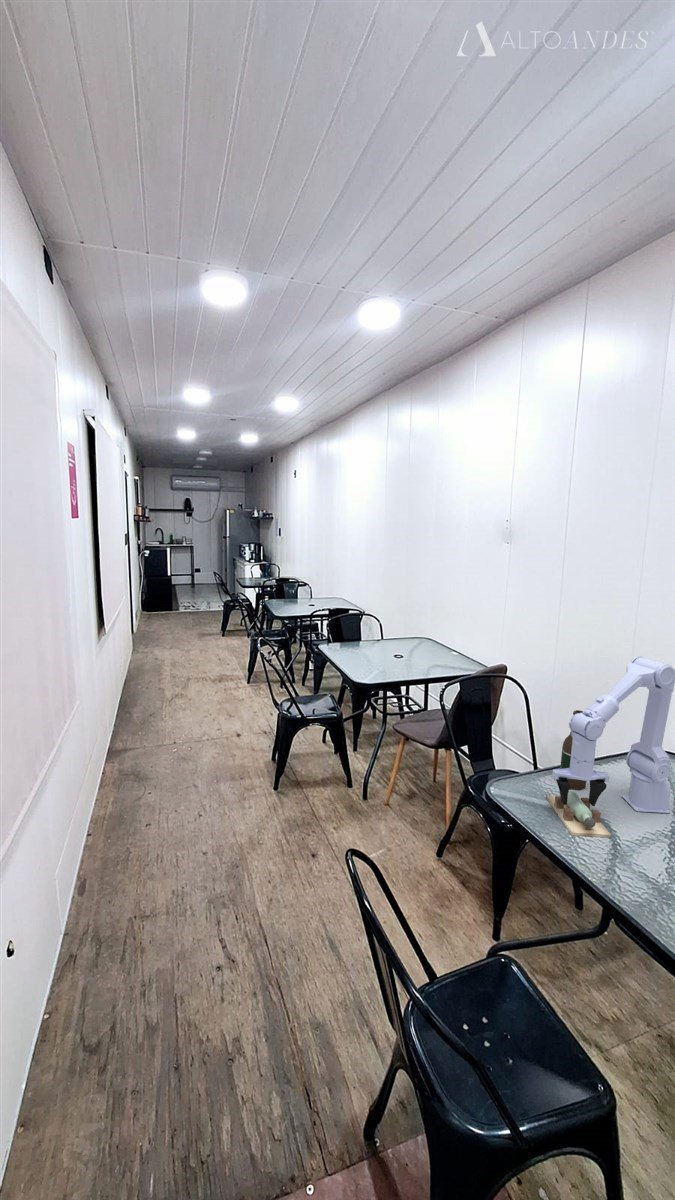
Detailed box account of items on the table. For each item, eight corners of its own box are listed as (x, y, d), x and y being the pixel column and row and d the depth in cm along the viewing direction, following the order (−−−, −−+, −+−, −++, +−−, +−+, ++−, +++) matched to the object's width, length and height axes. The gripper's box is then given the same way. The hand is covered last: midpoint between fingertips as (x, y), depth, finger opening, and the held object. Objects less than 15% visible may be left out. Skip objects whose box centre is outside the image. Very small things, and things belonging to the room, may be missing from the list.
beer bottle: (562, 775, 157) (569, 705, 153) (588, 783, 152) (596, 711, 148) (555, 784, 151) (562, 711, 147) (582, 793, 146) (590, 718, 142)
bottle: (575, 805, 138) (578, 792, 138) (596, 831, 126) (600, 817, 126) (561, 802, 139) (565, 789, 138) (581, 828, 126) (584, 815, 126)
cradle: (580, 799, 142) (581, 788, 142) (610, 837, 125) (612, 824, 124) (545, 797, 143) (546, 786, 142) (571, 835, 125) (573, 822, 125)
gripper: (602, 752, 135) (597, 797, 137) (549, 749, 136) (545, 794, 138) (615, 764, 128) (610, 811, 130) (560, 761, 129) (555, 808, 131)
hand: (577, 803), depth 133 cm, fingers open, 7 cm apart
